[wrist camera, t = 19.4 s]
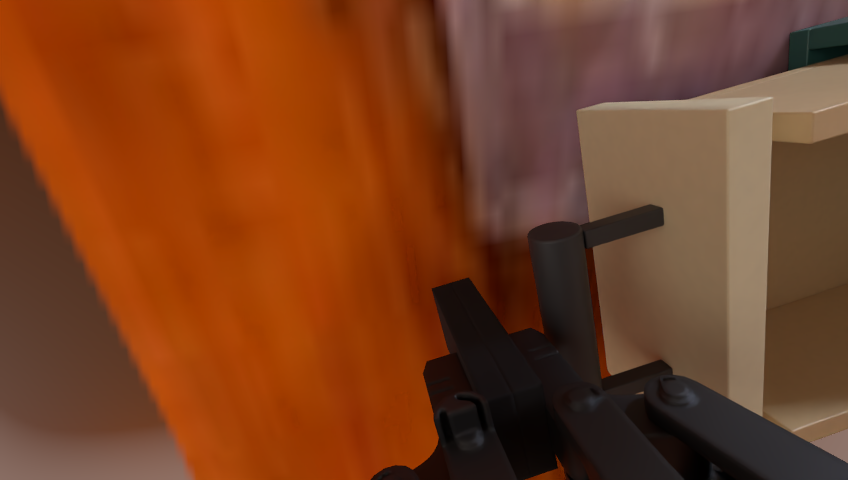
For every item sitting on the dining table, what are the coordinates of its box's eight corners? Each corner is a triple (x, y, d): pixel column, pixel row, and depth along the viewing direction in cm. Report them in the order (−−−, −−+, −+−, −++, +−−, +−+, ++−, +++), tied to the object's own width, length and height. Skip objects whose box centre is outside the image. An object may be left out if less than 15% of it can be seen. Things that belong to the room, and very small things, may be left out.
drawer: (525, 398, 19) (609, 538, 13) (472, 139, 15) (555, 159, 9) (869, 284, 21) (1097, 360, 14) (903, 19, 17) (1241, -39, 10)
